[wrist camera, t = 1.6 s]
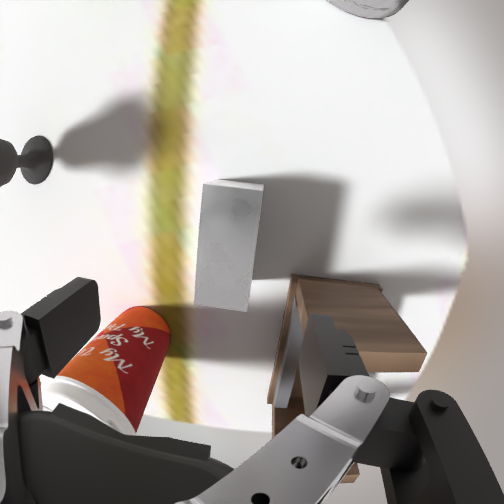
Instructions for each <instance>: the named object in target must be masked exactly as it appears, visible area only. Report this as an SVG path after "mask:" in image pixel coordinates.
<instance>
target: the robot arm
mask: <svg viewBox="0 0 504 504" xmlns="http://www.w3.org/2000/svg"><path fill="white" fill-rule="evenodd" d="M327 1H328V2H330V3H331V4H333V5H334V6H336V7H337V8H339V9H341V10H344V11H346V12H348V13H351V14H354V15H357V16H361V17H366V18H385V17H389V16H391V15H394V14H396V13H397V12H398V11H399V10H401V8H402V7H403V6H404V5H405V4H406V3H407V2H408V1H409V0H327ZM100 320H101V317H100V306H99V295H98V285H97V282H96V281H95V280H91V279H86V278H81V277H77V278H75V279H74V280H72V281H71V282H69V283H68V284H66V285H65V286H63V287H62V288H60V289H57V290H54V291H53V292H51V293H50V294H49V295H47V297H44V298H43V299H41V301H38V302H37V303H36V304H34V305H33V306H31V307H30V308H28V309H27V310H26V311H24V312H23V313H21V314H20V313H18V312H15V311H4V312H0V504H323V503H324V502H325V501H326V500H327V498H328V497H329V496H330V494H331V493H332V492H333V491H334V489H335V488H336V487H337V485H338V484H339V483H340V481H341V480H342V479H343V477H344V476H345V475H346V473H347V472H348V471H349V469H350V468H351V466H352V465H353V463H354V462H356V463H361V464H367V465H371V466H377V467H380V469H381V474H382V478H383V483H384V488H385V492H386V498H387V503H388V504H504V494H503V492H502V490H501V488H500V485H499V483H498V481H497V479H496V477H495V474H494V472H493V470H492V468H491V466H490V464H489V462H488V460H487V458H486V456H485V454H484V452H483V450H482V448H481V446H480V444H479V442H478V440H477V438H476V437H475V435H474V433H473V431H472V429H471V427H470V425H469V423H468V422H467V420H466V418H465V416H464V415H463V413H462V411H461V409H460V407H459V406H458V404H457V402H456V401H455V400H454V399H453V398H452V397H451V396H449V395H448V394H446V393H444V392H441V391H438V390H426V391H423V392H421V393H420V394H419V395H418V397H417V399H416V401H415V402H409V401H404V400H399V399H394V398H391V397H390V394H389V391H388V389H387V387H386V386H385V385H384V384H383V383H381V382H380V381H378V380H376V379H374V378H372V377H369V375H368V373H367V370H366V368H365V366H364V363H363V361H362V359H361V356H360V355H359V352H358V350H357V348H356V345H355V343H354V341H353V338H352V337H351V336H350V335H349V334H348V333H346V332H345V331H344V330H341V329H336V327H335V324H334V322H333V319H332V317H331V315H324V314H314V313H310V314H309V316H308V319H307V324H306V328H305V333H304V337H303V341H302V346H301V350H300V356H299V370H300V378H301V386H302V393H303V401H304V410H305V414H300V415H299V416H297V417H296V418H295V419H294V420H293V421H292V422H291V423H290V424H289V425H287V426H286V427H285V428H284V429H283V430H282V431H281V432H280V433H278V434H277V435H276V436H275V437H274V438H273V439H272V440H270V441H269V442H268V443H267V444H266V445H265V446H264V447H262V448H261V449H260V450H258V451H257V452H256V453H255V454H254V455H252V456H251V457H250V458H249V459H247V460H246V461H245V462H244V463H242V464H241V465H240V466H238V467H237V468H236V469H233V468H231V467H230V466H228V465H226V464H224V463H222V462H220V461H218V460H216V459H213V458H210V450H211V446H209V445H204V444H198V443H193V442H188V441H182V440H178V439H173V438H169V437H148V436H147V437H146V436H134V435H125V434H122V433H120V432H118V431H116V430H115V429H113V428H111V427H110V426H108V425H106V424H104V423H103V422H101V421H100V420H98V419H96V418H95V417H93V416H92V415H90V414H87V413H84V412H82V411H79V410H76V409H74V408H71V407H69V406H66V405H64V404H61V403H58V405H57V406H56V407H55V409H54V410H53V411H52V412H51V411H43V404H42V392H41V382H40V379H39V376H40V375H41V374H43V375H45V376H48V377H50V378H53V379H54V378H55V377H56V376H57V375H58V374H59V373H60V372H61V370H62V369H63V368H64V367H65V366H66V365H67V364H68V363H69V361H70V360H71V359H72V358H73V357H74V356H75V355H76V354H77V353H78V351H79V350H80V349H81V348H82V347H83V346H84V345H85V344H86V343H87V342H88V341H89V340H90V338H91V337H92V336H93V335H94V334H95V333H96V332H97V330H98V329H99V326H100Z"/></svg>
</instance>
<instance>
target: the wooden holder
mask: <svg viewBox="0 0 504 504" xmlns="http://www.w3.org/2000/svg"><path fill="white" fill-rule="evenodd" d="M310 313H314V314H324V315H331V317H332V319H333V322H334V324H335V327H336V329H341V330H344V331H345V332H346V333H348V334H349V335H350V336H351V337H352V338H353V341H354V343H355V345H356V348H357V350H358V352H359V355H360V356H361V359H362V361H363V363H364V366H365V368H366V370H367V372H419V370H420V368H421V366H422V364H423V362H424V359H425V357H426V355H427V352H426V350H425V349H424V348H423V346H422V345H421V344H420V342H419V341H418V340H417V338H416V337H415V336H414V334H413V333H412V332H411V330H410V329H409V328H408V326H407V325H406V324H405V322H404V321H403V320H402V318H401V317H400V316H399V315H398V313H397V312H396V311H395V309H394V308H393V307H392V306H391V304H390V303H389V302H388V301H387V299H386V298H385V297H384V296H383V294H382V287H381V286H380V285H379V284H371V283H362V282H354V281H345V280H337V279H328V278H320V277H312V276H304V275H296V274H291V279H290V285H289V290H288V296H287V302H286V307H285V312H284V318H283V323H282V328H281V334H280V339H279V344H278V349H277V354H276V359H275V364H274V369H273V373H272V378H271V383H270V388H269V392H268V397H267V404H272V439H273V438H274V437H275V436H276V435H277V434H278V433H280V432H281V431H282V430H283V429H284V428H285V427H286V426H287V425H289V424H290V423H291V422H292V421H293V420H294V419H295V418H296V417H297V416H299V415H300V414H305V410H304V401H303V393H302V386H301V378H300V370H299V356H300V350H301V346H302V341H303V337H304V333H305V328H306V324H307V319H308V316H309V314H310ZM358 476H359V469H358V465H357V463H356V462H354V463H353V465H352V466H351V468H350V469H349V471H348V472H347V473H346V475H345V476H344V477H343V479H342V480H341V481H340V483H353V482H355V480H356V479H357V477H358Z"/></svg>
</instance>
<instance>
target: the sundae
mask: <svg viewBox="0 0 504 504" xmlns="http://www.w3.org/2000/svg"><path fill="white" fill-rule="evenodd" d="M51 163H52V151H51V147H50V145H49V143H48V141H47V140H46V139H45V138H44V137H42V136H35V137H33V138H31V139H30V140H29V141H28V142H27V143H26V144H25V146H24V148H23V150H22V153H21V155H17V152H16V150H15V148H14V146H13V145H12V144H11V143H10V142H8V141H5V140H2V139H0V187H1V186H2V185H4V184H7V183H8V182H10V180H11V179H12V177H13V175H14V173H15V171H16V168H19V167H20V168H21V172H22V175H23V177H24V178H25V179H26V181H28V182H29V183H31V184H39V183H41V182H42V181H43V180H44V179H45V178H46V177H47V175H48V173H49V171H50V168H51Z"/></svg>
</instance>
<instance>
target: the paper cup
mask: <svg viewBox="0 0 504 504" xmlns="http://www.w3.org/2000/svg"><path fill="white" fill-rule="evenodd" d="M170 339H171V334H170V330H169V327H168V325H167V323H166V322H165V320H164V319H163V318H162V317H161V316H160V315H159V314H158V313H156V312H155V311H153V310H151V309H149V308H146V307H140V306H137V307H132V308H129V309H127V310H126V311H124V312H123V313H122V314H121V315H119V316H118V317H117V318H116V319H115V320H114V321H113V322H111V323H110V324H109V325H108V326H107V327H106V328H105V329H104V330H103V331H102V332H101V333H99V334H98V335H97V336H96V337H95V338H94V339H93V340H92V341H91V342H90V343H89V344H88V345H87V346H86V347H84V348H83V349H82V350H81V351H80V352H79V353H78V354H77V355H76V356H75V357H74V358H73V359H72V360H71V361H70V362H69V363H68V364H67V365H66V366H65V367H64V368H63V369H62V370H61V372H60V373H59V374H58V375H57V376H56V377H55V378H54V379H53V378H50V377H48V378H46V379H45V380H44V381H43V382H42V384H41V392H42V404H43V411H51V412H52V411H53V410H54V409H55V407H56V406H57V405H58V403H61V404H64V405H66V406H69V407H71V408H74V409H76V410H79V411H82V412H84V413H87V414H90V415H92V416H93V417H95V418H96V419H98V420H100V421H101V422H103V423H104V424H106V425H108V426H110V427H111V428H113V429H115V430H116V431H118V432H120V433H122V434H125V435H134V436H136V432H137V429H138V426H139V424H140V421H141V418H142V416H143V413H144V410H145V408H146V405H147V402H148V400H149V397H150V395H151V392H152V389H153V387H154V384H155V382H156V379H157V376H158V374H159V371H160V369H161V366H162V363H163V361H164V358H165V356H166V353H167V350H168V347H169V344H170Z"/></svg>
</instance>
